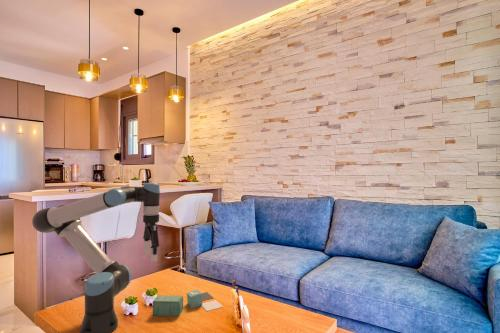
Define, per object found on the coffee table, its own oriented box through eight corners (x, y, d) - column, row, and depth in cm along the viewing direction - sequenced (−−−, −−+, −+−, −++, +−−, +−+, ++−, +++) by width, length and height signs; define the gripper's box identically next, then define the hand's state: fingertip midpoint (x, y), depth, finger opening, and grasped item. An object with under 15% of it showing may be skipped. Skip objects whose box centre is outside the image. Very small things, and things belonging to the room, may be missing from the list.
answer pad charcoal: (198, 302, 157) (198, 301, 157) (192, 296, 165) (192, 295, 165) (213, 298, 162) (213, 297, 162) (207, 292, 169) (207, 292, 169)
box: (179, 316, 142) (179, 301, 142) (152, 316, 142) (152, 301, 143) (183, 309, 150) (183, 294, 150) (157, 309, 150) (157, 294, 150)
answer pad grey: (206, 311, 147) (206, 310, 147) (200, 304, 154) (200, 303, 154) (222, 307, 151) (222, 306, 151) (215, 300, 159) (215, 299, 159)
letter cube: (191, 308, 150) (190, 296, 150) (187, 303, 156) (186, 292, 155) (202, 304, 154) (201, 292, 153) (198, 300, 159) (197, 288, 159)
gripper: (166, 217, 135) (165, 263, 135) (152, 210, 156) (151, 250, 156) (149, 218, 131) (149, 265, 131) (137, 211, 152) (137, 252, 152)
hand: (150, 257), depth 144 cm, fingers open, 13 cm apart
